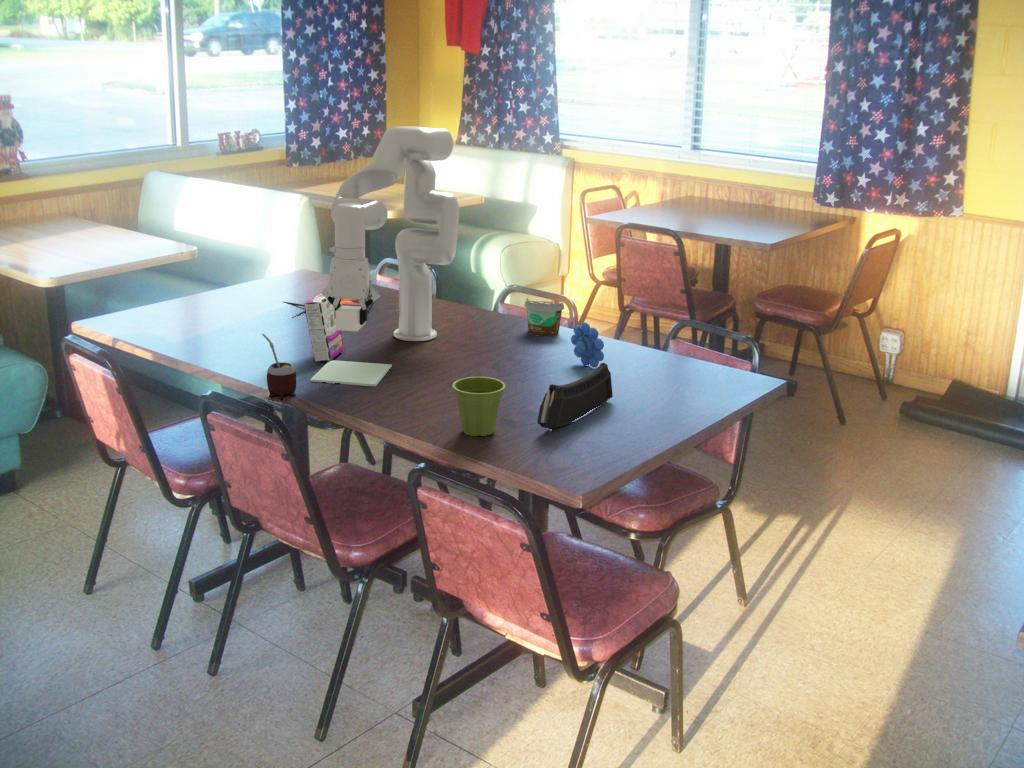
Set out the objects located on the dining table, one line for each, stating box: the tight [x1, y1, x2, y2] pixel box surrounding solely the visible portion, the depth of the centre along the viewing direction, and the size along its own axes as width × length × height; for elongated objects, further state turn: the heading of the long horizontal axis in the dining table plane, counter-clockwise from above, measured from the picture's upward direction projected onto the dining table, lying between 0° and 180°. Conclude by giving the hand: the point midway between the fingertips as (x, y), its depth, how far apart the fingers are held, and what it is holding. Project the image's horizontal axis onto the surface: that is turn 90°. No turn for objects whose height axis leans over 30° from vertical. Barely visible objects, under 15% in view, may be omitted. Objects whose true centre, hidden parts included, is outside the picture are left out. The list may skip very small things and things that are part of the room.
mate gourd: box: [261, 333, 297, 402], centre depth 263 cm, size 8×8×15 cm
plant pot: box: [451, 376, 506, 437], centre depth 245 cm, size 12×12×11 cm
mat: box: [309, 359, 393, 387], centre depth 284 cm, size 17×17×1 cm
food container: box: [523, 297, 565, 337], centre depth 324 cm, size 12×6×10 cm, turn 68°
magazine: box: [536, 362, 614, 431], centre depth 257 cm, size 17×3×30 cm
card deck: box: [335, 302, 367, 332], centre depth 279 cm, size 6×8×5 cm, turn 172°
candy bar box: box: [303, 293, 345, 362], centre depth 295 cm, size 11×5×16 cm, turn 169°
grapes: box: [570, 321, 605, 368], centre depth 295 cm, size 12×7×12 cm, turn 44°
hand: (351, 322), depth 279 cm, fingers closed on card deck, 5 cm apart
